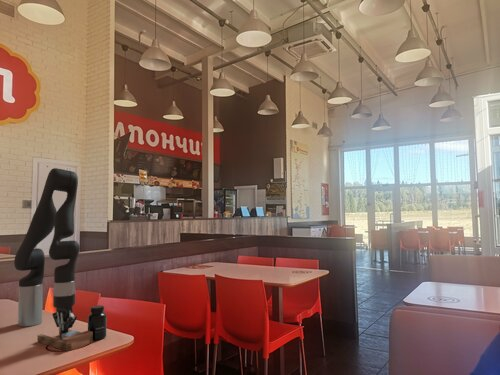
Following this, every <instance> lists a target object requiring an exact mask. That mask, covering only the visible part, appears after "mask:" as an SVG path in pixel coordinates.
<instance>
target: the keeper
mask: <svg viewBox="0 0 500 375" xmlns="http://www.w3.org/2000/svg"><path fill="white" fill-rule="evenodd" d="M78 333H81V331H78V330H73V331H70V332H67V333H64V334H62V340H63V338H66V337H69V336H72V335H75V334H78Z"/></svg>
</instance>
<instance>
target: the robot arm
mask: <svg viewBox="0 0 500 375" xmlns="http://www.w3.org/2000/svg"><path fill="white" fill-rule="evenodd" d="M78 177H79V176H78V174H77V173H76V172H75V171H72V170H67V169H61V168H58V167H54V168H51V169H50V171H49V172H48V174H47V177H46V179H45V184H44V188H43V190H42V192H41V193H42V194H41V196H40V199H39V202H38V204H37V207H36V209H35V210H34V214H33V215H32V217H31V218H32V219H31V221H30V224H29V226H28V229H27V232H26V234H25V236H24V238H23V240H22V242H21V244H20V246H19V248H18V250H17V251H16V254H15V257H14V260H13V264H14V268H15V269H16V270H17V271H29V273H28V274H26V275H25V276H23V277H22V278H20V279H19V280H18V306H17V307H18V312H17V314H18V315H17V318H18V319H17V324H18V326H19V327H32V326H37V325H40V324H42V323H43V282H44V281H43V279H44V277H45V263H46V262H45V261H46V258H45V252H44V250H43V249H42V248H38V247H37V246H38V244H40V243H41V242H42V241H43V240H44V239H46V238H47V237H48V236H49V235H50V234H51V233H52V232H53V230H54V233H53V237H52V241H51V243H50V246H49V248H48V256H49V257H50V259H51V260H53V261H60V260H61V261H62V260H63V261H64V260H68V261H67V263H65V264H62V265H59V266H56V267H55V268H54V271H53V272H54V275H53V279H54V280H53V282H54V283H53V290H52V291H53V294H52V295H53V298H52V299H53V300H52V301H53V304H52V305H53V307H54V308H55V312H53V313H52V317H53V321H54V324H55V326H56V327H57V328H58V330H59V329H60V335H59V336H60V340H62V334H64V333H67V332H68V329H69V330H70V329H72V328H73V326H74V325H75V322H76V320H77V318H78V317H77V315H74V310H73V306H75V305H76V280H75V279H76V278H75V274H76V272H75V271H76V264H77V260H78V256H79V253H80V250H81V246H80V244H79V242H78V241H76V240H65V241H64V239H67V238H70V237H72V236H73V235H74V233H75V207H76V200H77V193H78V184H79V178H78ZM54 191H57V192H64V193H66V198H65V200H64V202H63V203H62V205H61V206H60V207H59V208H58V210H57V208H56V206H55V203H54V199H53V195H54Z"/></svg>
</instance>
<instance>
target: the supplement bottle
mask: <svg viewBox="0 0 500 375" xmlns="http://www.w3.org/2000/svg"><path fill="white" fill-rule="evenodd" d="M107 320H108V319H107V313H106V312H105V306H104V305H99V304H98V305H93V306H91V307H90V314H88V317H87V331H92V332H93V342H94V341H101V340H103V339H105V338H106V336H107Z"/></svg>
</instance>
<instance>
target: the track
mask: <svg viewBox="0 0 500 375" xmlns="http://www.w3.org/2000/svg"><path fill="white" fill-rule="evenodd" d="M70 331H74V330H72V329H70V328H69V329H68V332H70ZM80 332H81V331H80ZM58 335H59V336H60V329H59V328H58ZM93 342H94V341H93V332H92V331H88V330H84V331H82V332H81V333H78V334H75V335H72V336H69V337H66V338H63V340H61V339H59V338H56V337H53V336H49V335H46V334H42V333H41V334H40V333H39V334H37V343H38V344H39V343H40V344H43V345H47V346H48V347H49V346H50V347H52V348H56V349H59V350H62V351H65V352H70V351H72V350H76V349H78V348H81V347H84V346H87V345H90V344H92V343H93Z"/></svg>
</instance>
